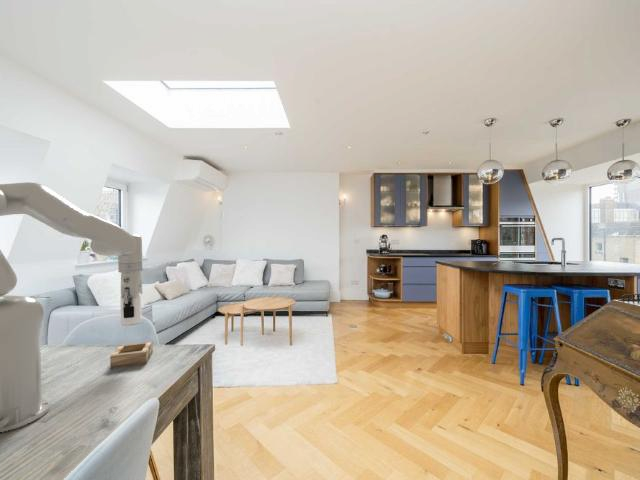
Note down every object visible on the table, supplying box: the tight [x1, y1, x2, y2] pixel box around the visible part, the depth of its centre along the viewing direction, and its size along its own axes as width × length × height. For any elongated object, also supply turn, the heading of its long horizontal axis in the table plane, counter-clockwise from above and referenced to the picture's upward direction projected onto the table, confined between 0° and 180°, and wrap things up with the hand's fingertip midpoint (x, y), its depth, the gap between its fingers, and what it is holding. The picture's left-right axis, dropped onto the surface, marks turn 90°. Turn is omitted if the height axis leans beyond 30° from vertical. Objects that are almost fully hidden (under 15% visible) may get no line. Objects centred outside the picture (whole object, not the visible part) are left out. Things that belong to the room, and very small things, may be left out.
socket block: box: [109, 341, 154, 370], centre depth 107 cm, size 11×11×4 cm
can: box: [120, 293, 143, 327], centre depth 106 cm, size 6×6×12 cm
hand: (131, 314), depth 107 cm, fingers closed on can, 6 cm apart
